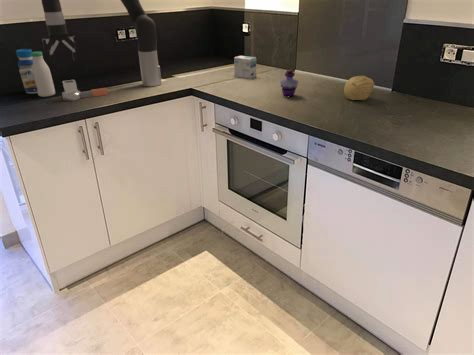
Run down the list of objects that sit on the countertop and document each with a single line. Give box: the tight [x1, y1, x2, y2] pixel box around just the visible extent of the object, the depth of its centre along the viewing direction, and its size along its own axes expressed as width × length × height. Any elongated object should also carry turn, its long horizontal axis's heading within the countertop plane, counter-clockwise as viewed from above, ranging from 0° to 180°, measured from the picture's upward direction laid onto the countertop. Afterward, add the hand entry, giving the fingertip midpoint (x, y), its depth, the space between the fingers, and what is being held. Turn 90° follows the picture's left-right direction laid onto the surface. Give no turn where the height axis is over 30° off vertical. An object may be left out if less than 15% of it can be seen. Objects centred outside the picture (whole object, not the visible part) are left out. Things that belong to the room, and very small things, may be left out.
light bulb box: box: [233, 55, 257, 80], centre depth 211 cm, size 11×7×11 cm, turn 58°
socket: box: [61, 79, 78, 94], centre depth 176 cm, size 5×5×5 cm
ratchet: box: [61, 87, 109, 102], centre depth 180 cm, size 20×8×6 cm, turn 118°
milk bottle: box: [31, 50, 56, 98], centre depth 180 cm, size 8×8×20 cm
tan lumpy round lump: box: [343, 75, 375, 101], centre depth 172 cm, size 12×12×11 cm
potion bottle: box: [279, 69, 299, 98], centre depth 178 cm, size 9×9×12 cm
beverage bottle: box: [15, 48, 38, 95], centre depth 185 cm, size 8×8×20 cm
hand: (64, 61), depth 171 cm, fingers open, 8 cm apart
